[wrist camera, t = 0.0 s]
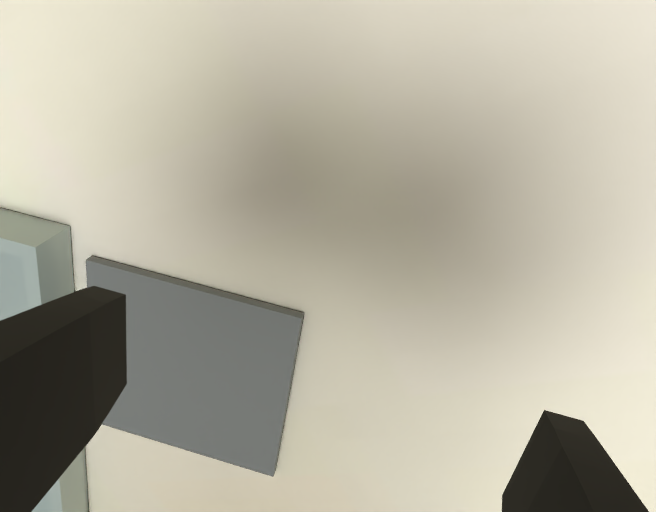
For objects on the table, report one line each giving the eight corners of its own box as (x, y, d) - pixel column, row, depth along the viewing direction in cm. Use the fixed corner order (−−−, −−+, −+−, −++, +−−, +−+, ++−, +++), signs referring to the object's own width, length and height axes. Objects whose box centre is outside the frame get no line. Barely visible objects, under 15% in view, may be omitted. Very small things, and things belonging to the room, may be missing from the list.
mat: (275, 469, 25) (273, 476, 25) (99, 416, 26) (94, 422, 26) (304, 312, 21) (301, 318, 20) (91, 255, 22) (86, 260, 21)
